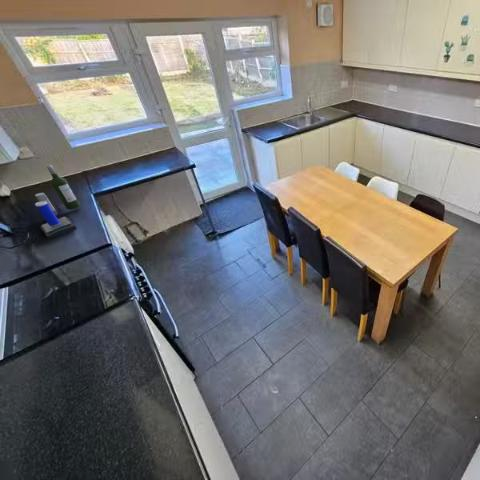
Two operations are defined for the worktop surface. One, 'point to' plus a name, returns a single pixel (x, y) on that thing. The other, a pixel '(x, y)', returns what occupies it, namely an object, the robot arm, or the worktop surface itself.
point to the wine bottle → (63, 190)
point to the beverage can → (47, 213)
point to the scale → (60, 230)
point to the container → (43, 198)
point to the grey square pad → (62, 224)
